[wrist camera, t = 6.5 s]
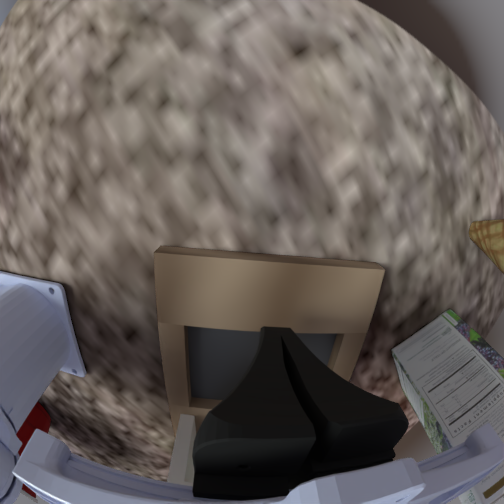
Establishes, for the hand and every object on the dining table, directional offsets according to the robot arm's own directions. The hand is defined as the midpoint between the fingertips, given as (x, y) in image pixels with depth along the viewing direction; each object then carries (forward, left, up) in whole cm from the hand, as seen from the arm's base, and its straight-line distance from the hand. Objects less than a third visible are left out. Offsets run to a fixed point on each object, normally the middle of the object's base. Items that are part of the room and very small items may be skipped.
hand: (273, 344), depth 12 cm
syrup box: (+13, -4, -4) cm, 14 cm away
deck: (0, -10, -3) cm, 11 cm away
